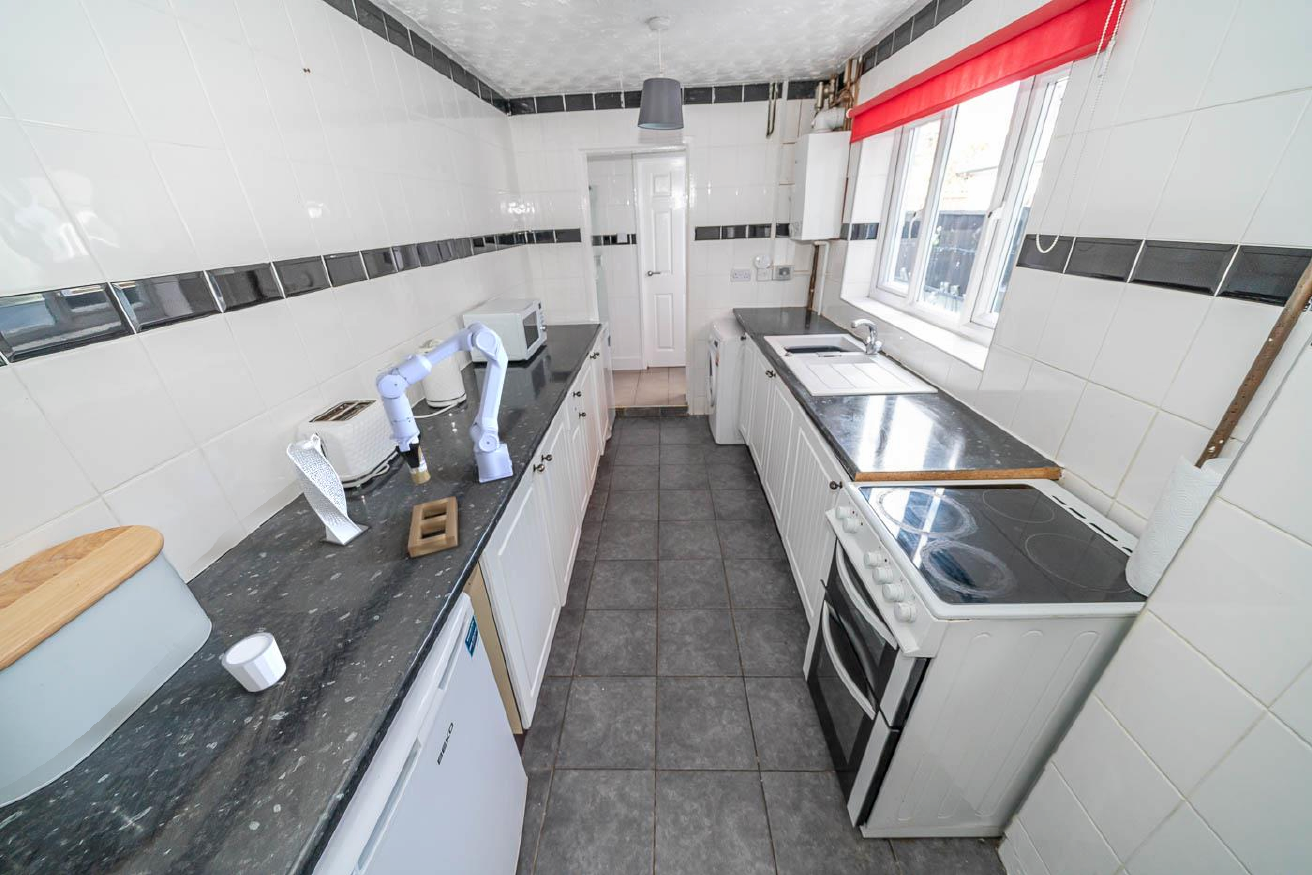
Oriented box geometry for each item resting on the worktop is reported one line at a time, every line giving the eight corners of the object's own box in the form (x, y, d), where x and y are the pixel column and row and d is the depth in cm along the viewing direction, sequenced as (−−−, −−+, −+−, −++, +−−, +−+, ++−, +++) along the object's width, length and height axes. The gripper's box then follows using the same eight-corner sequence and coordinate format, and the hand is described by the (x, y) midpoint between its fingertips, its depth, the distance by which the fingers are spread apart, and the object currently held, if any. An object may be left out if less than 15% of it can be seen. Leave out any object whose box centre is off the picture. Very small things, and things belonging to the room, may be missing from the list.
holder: (457, 505, 122) (454, 496, 121) (457, 545, 107) (454, 535, 106) (417, 514, 119) (414, 505, 118) (411, 557, 104) (407, 547, 103)
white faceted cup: (259, 660, 81) (241, 633, 78) (299, 656, 81) (282, 629, 78) (230, 697, 75) (209, 670, 72) (273, 693, 75) (254, 665, 72)
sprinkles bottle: (432, 480, 125) (417, 437, 118) (414, 486, 122) (398, 442, 116) (429, 473, 128) (415, 431, 122) (411, 479, 126) (396, 436, 120)
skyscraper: (373, 528, 115) (331, 429, 102) (344, 549, 108) (295, 446, 95) (348, 523, 117) (305, 425, 104) (319, 543, 110) (268, 441, 98)
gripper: (387, 410, 121) (403, 454, 128) (379, 431, 109) (396, 479, 115) (416, 405, 124) (430, 449, 130) (411, 426, 111) (426, 473, 118)
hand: (416, 463), depth 123 cm, fingers closed on sprinkles bottle, 4 cm apart
